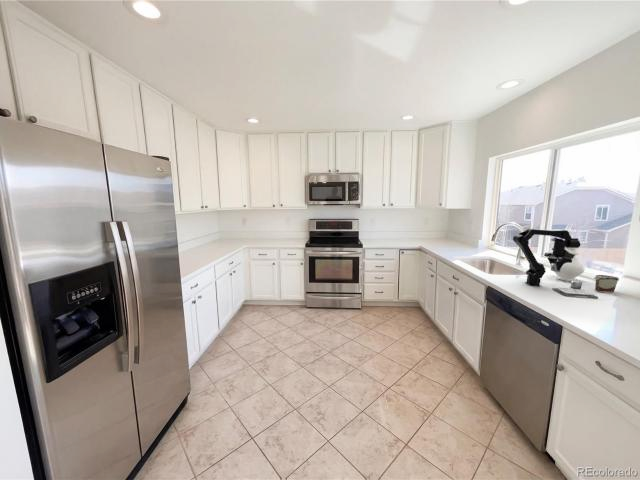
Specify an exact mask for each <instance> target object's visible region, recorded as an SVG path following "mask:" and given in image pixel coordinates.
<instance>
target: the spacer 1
mask: <svg viewBox="0 0 640 480" xmlns="http://www.w3.org/2000/svg"><path fill="white" fill-rule="evenodd" d="M550 271H552V272H554V271H556V272H560V271H561V269H560V270H557V268H556V263H552V264H550Z"/></svg>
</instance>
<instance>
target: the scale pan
mask: <svg viewBox="0 0 640 480" xmlns="http://www.w3.org/2000/svg"><path fill="white" fill-rule="evenodd" d="M555 288H556V289H558V290H560V291H561V292H563V293H566V294H579V295H592V296H596V295H595V294H594V293H592V292H590V291H587V290H586V289H582V288H581V289H572V288H565V287H555Z"/></svg>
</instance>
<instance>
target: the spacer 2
mask: <svg viewBox="0 0 640 480" xmlns="http://www.w3.org/2000/svg"><path fill="white" fill-rule="evenodd" d="M570 282H571V283H570V287H569V289H582V286H583V285H582V284H583V281H579V280H577V281H576V280H572V281H570Z"/></svg>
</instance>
